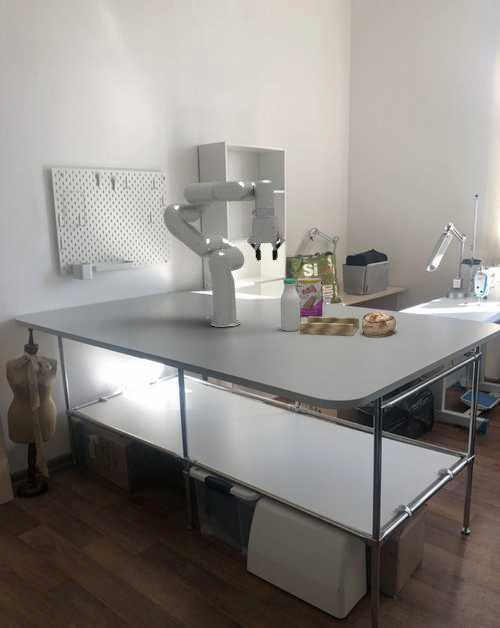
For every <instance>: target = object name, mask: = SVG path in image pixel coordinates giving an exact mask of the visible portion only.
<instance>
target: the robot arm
mask: <svg viewBox="0 0 500 628" xmlns="http://www.w3.org/2000/svg"><path fill="white" fill-rule="evenodd" d="M274 189H275V187H274V182H273V181H272V180H269V179H266V180H265V179H263V180H256V181H250V180H249V181H247V180H232V181H230V180H229V181H211V182H208V181H207V182H194V183H191V184H188V185H186V186H185V188H184V190H183V197H184V200H186V202H175V203H171V204H169V205H167V206H166V207H165V209H164V211H163V221H164V222H163V223H164V224H165V228H166V229H167V230H168V232H169V233H170V234H171V235H172V236H174V238H176V239H177V240H179V241H180V242H181V243H183V244H184V245H185V246H186V247H187V248H189V249H190V250H191V251H192V252H193V253H195V255H197V256H198V257H200V258H208V260H207V265H208V269H209V274H210V281H211V291H212V293H211V294H212V307H213V308H212V310H213V314H206V315H205V320H206V321H211V322H210V323H211V324H212V325H214V324H215V325H216V326H231V325H236V324H239V323H240V324H241V321H240V320H239V319H237V305H236V303H237V302H236V301H237V300H236V285H235V284H236V283H235V278H234V276H233V273H232V272H233V271H237V270H240V269H241V268H243V266H244V265H245V256H244V254H243V252H242V250H240V249H239V248H238V247H237V246H236V245H234V244H233V243H232V242H230V241H229V240H228V239H227V238H225V237H224V236H222V235H220V234H214V233H212V234H207V233H204V232H202V231H201V230H199V229H198V228H197V227H196V226H194V225H192V224H190V223H194V222H197V221H198V220H199V219H200V218H201V217H202V216H203V214H204V213H205V212H206V211H207V209H208V208H209V207H210V206H211V204H221V203H222V202H254V210H251V215H254V217H252V223H251V224H252V225H251V236H250V237H249V238H248V239H247V240H246V242H247V244H249V245H250V246H251V248H252V249H253V250H254V251H255V259H256V261H258V262H259V261H261V260H262V251H261V244H271V246H272V251H271V253H272V255H271V257H272V261H277V259H278V257H279V256H278V251H279V249H280V248H281V246H282V245H283V244H284V243H285V242H286V239H285V238H284V237H283V235H281V234H280V228H279V223H278V219H277V216H275V215H276V214H275V190H274ZM211 324H210V325H211Z"/></svg>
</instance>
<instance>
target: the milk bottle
mask: <svg viewBox="0 0 500 628" xmlns="http://www.w3.org/2000/svg"><path fill="white" fill-rule="evenodd" d="M283 286H284V287H283V292H282V294H281V297H280V327H281V330H282V331H284V330H285V332H296V331H300V328H299V323H301V322H302V321H301V319H302V318H301V317H302V316H301V314H300V299H299V295H298V293H297V287H296V279H295V278H284V279H283Z"/></svg>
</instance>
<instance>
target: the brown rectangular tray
mask: <svg viewBox="0 0 500 628" xmlns="http://www.w3.org/2000/svg"><path fill="white" fill-rule="evenodd" d="M299 328H300V330H299V334H300V335H320V336H321V335H322V336H326V335H327V336H347V337H348V336H349V337H350V336H351V337H353V336H354V335H355V334H356V332H357V331H358V330H359V329H360V317H351V316H350V317H343V316H342V317H341V316H307V322H303V321H301V323H299Z"/></svg>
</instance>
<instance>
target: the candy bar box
mask: <svg viewBox="0 0 500 628" xmlns="http://www.w3.org/2000/svg"><path fill="white" fill-rule="evenodd" d="M296 291H297V293H298V295H299V299H300V314H301V317H309V316H312V317H323V279H322V278H297V279H296Z"/></svg>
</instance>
